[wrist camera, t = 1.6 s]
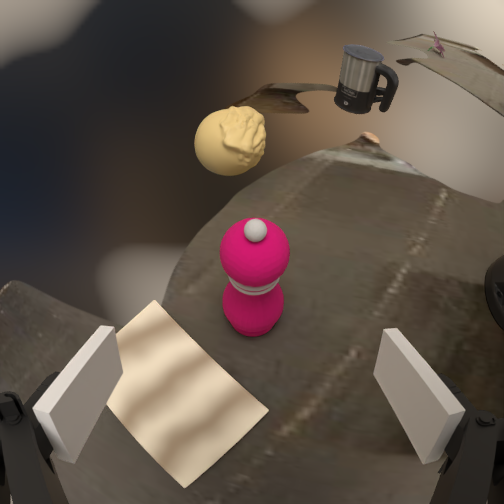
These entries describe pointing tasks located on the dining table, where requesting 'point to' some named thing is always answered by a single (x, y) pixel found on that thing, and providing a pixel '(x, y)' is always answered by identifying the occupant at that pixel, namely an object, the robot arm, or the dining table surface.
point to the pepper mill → (254, 274)
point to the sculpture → (231, 140)
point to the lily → (438, 45)
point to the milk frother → (364, 81)
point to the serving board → (178, 397)
